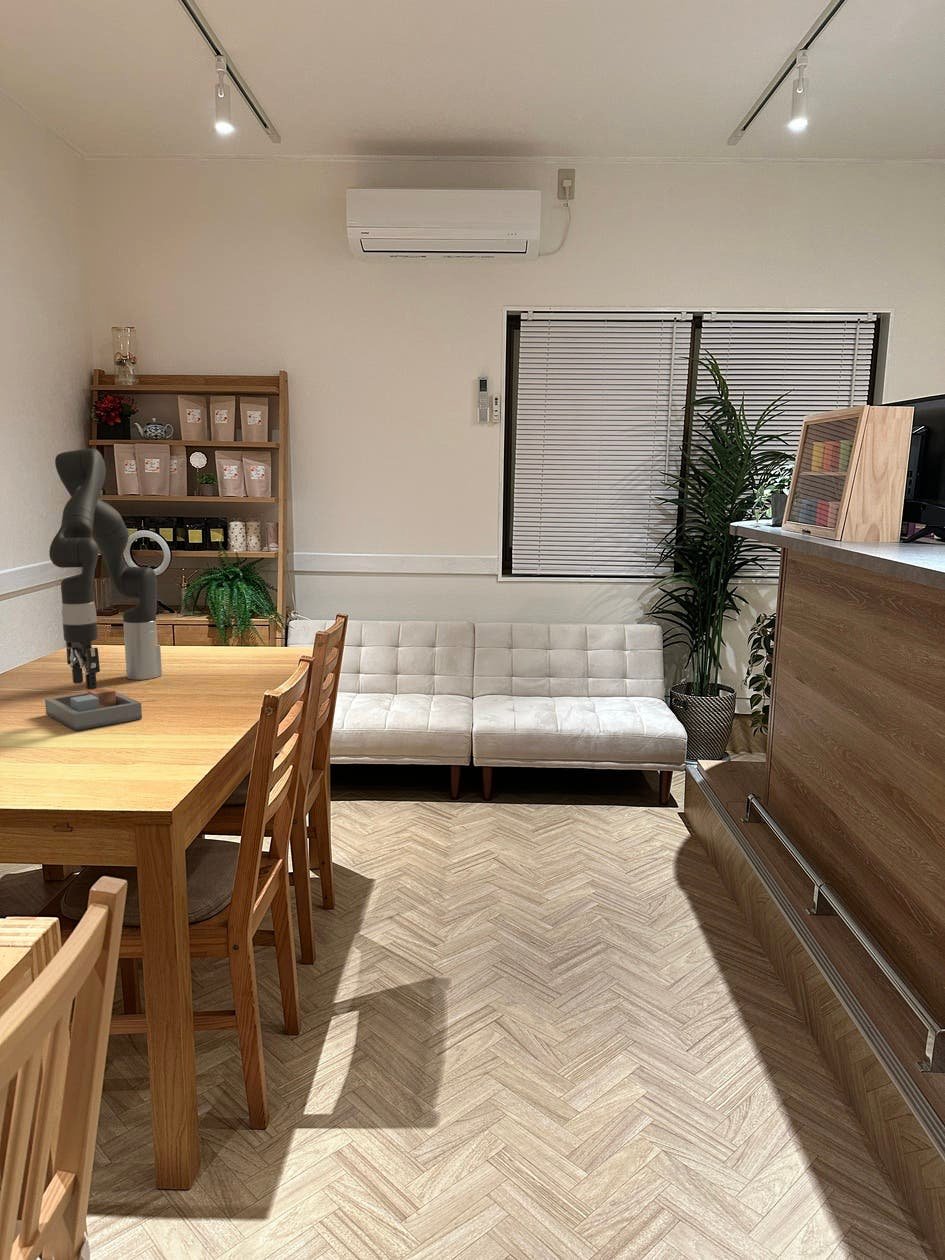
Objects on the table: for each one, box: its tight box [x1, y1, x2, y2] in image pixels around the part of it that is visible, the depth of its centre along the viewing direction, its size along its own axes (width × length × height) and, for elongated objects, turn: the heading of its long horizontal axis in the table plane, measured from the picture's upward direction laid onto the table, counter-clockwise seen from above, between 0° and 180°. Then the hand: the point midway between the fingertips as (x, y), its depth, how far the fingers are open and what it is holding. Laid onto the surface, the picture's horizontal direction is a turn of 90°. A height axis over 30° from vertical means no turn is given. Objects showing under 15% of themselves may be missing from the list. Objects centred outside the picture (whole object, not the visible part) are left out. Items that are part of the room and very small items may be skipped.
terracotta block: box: [86, 686, 116, 708], centre depth 218 cm, size 5×5×5 cm
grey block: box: [70, 695, 100, 712], centre depth 210 cm, size 5×5×5 cm
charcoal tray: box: [44, 691, 143, 732], centre depth 214 cm, size 16×20×4 cm
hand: (84, 685), depth 209 cm, fingers open, 8 cm apart
